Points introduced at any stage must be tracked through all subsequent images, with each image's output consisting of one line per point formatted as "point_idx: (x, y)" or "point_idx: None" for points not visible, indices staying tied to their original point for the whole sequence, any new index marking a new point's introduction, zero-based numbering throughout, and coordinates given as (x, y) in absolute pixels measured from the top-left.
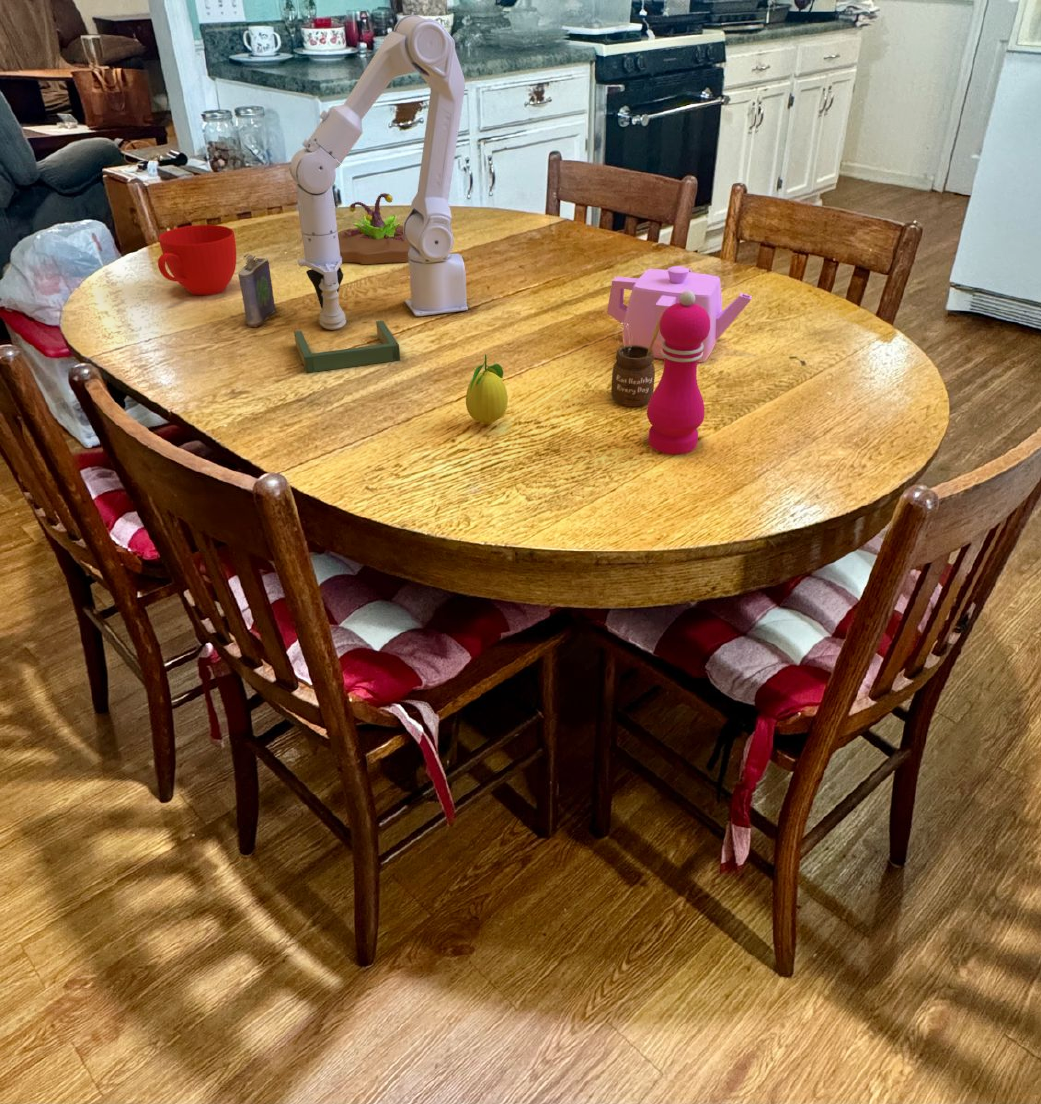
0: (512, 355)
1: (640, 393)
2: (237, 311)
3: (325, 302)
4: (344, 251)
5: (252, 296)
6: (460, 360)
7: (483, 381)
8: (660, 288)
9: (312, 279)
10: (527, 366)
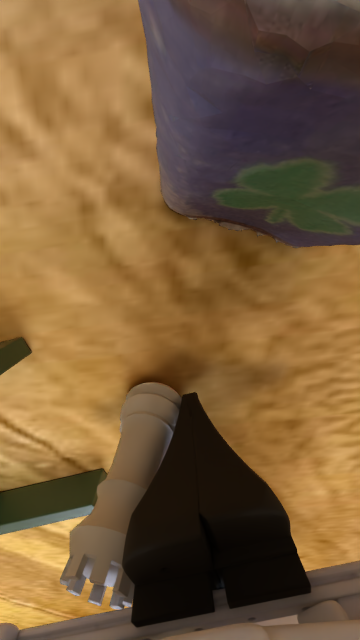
0: (43, 586)
1: None
2: None
3: (114, 460)
4: None
5: (167, 154)
6: (13, 554)
7: None
8: None
9: (127, 537)
10: (10, 596)
